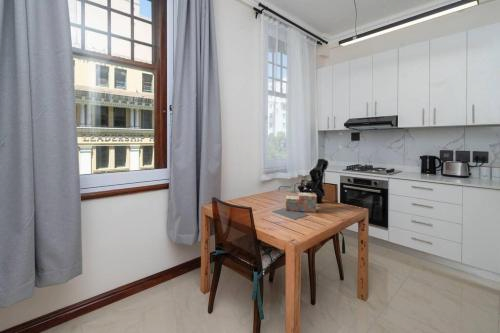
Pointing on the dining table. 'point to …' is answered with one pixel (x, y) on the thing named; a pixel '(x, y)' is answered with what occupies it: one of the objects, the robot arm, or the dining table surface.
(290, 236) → the dining table surface
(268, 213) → the dining table surface
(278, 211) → the mat
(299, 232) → the dining table surface
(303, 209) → the stack of blocks
